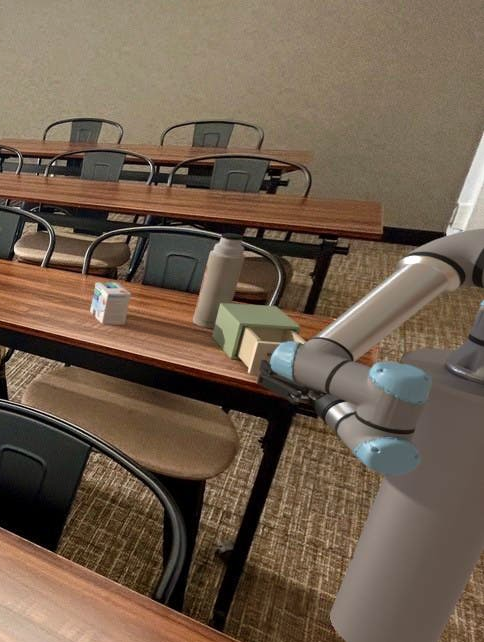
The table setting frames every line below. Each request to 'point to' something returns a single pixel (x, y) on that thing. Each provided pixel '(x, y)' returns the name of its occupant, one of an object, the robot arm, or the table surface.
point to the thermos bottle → (219, 279)
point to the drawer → (262, 345)
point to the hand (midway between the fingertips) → (298, 368)
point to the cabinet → (246, 323)
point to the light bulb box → (110, 303)
